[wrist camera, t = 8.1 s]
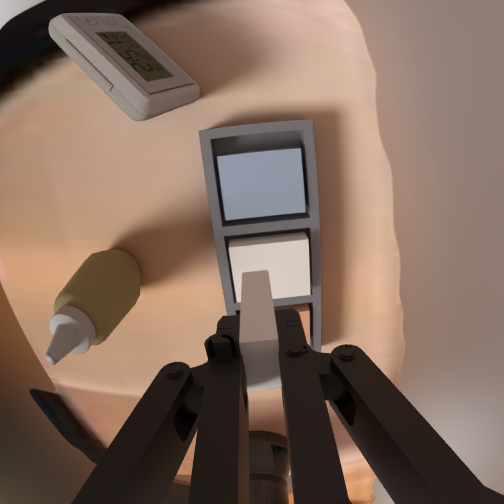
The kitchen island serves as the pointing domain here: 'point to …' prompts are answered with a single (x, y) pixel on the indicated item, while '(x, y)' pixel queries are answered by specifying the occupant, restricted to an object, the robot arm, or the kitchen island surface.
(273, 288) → the off-white key
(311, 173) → the grey compartment tray
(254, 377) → the robot arm
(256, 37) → the kitchen island surface
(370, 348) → the kitchen island surface
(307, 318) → the terracotta key
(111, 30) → the digital clock
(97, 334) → the squeeze bottle
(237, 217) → the slate key
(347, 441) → the kitchen island surface
